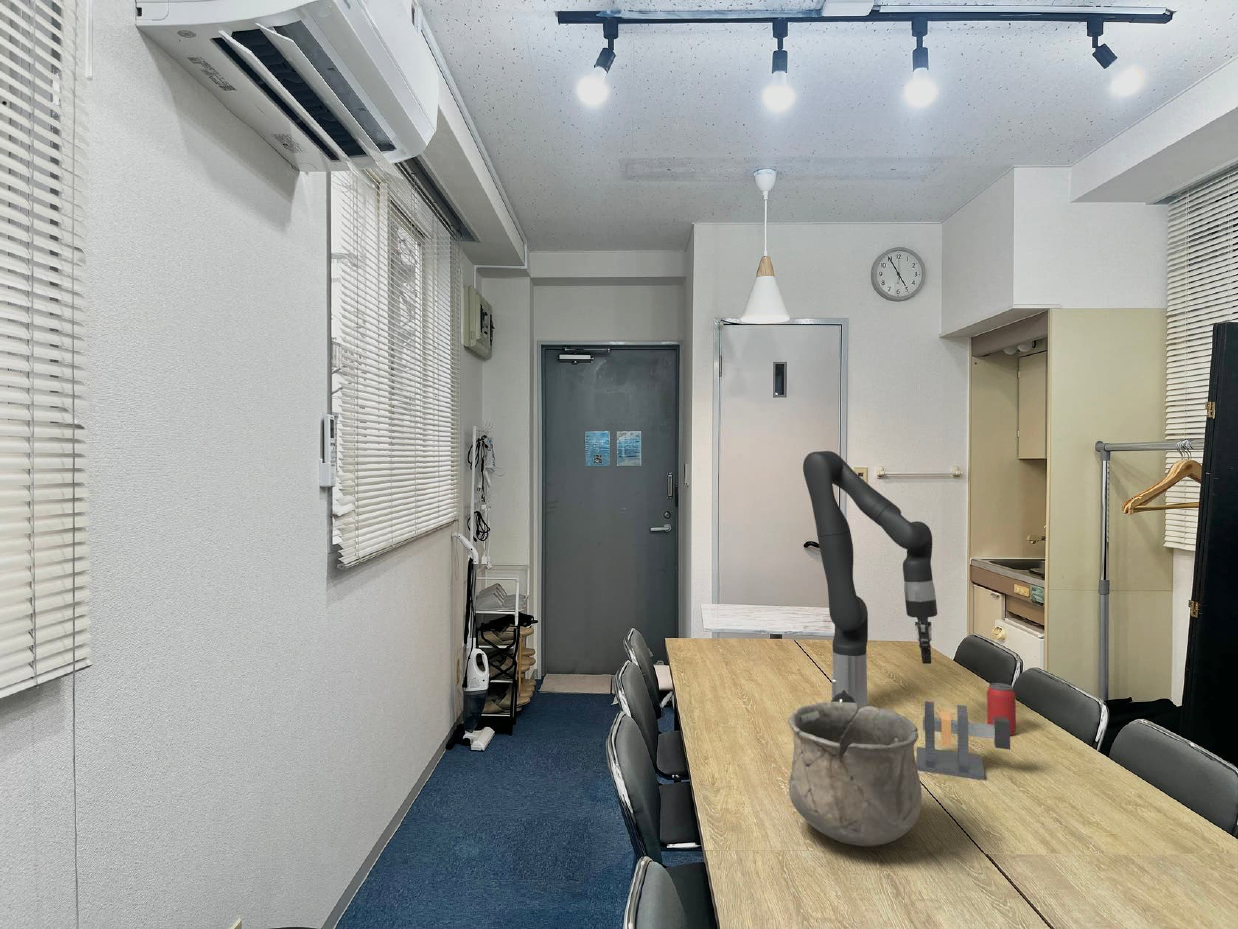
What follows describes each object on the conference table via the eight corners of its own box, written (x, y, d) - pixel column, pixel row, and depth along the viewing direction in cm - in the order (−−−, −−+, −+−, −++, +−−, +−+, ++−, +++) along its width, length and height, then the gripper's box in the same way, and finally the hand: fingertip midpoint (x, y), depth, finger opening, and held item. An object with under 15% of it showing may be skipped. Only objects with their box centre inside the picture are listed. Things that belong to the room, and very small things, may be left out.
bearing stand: (915, 770, 161) (915, 713, 161) (917, 750, 172) (916, 697, 172) (984, 780, 155) (983, 721, 155) (981, 759, 166) (980, 705, 166)
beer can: (1020, 737, 179) (1019, 690, 180) (992, 735, 181) (991, 689, 181) (1011, 728, 186) (1010, 682, 186) (984, 726, 187) (983, 681, 187)
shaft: (922, 738, 164) (922, 712, 164) (923, 733, 167) (922, 708, 167) (1010, 749, 157) (1009, 723, 157) (1008, 744, 160) (1008, 718, 160)
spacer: (941, 745, 161) (941, 719, 161) (941, 736, 167) (941, 711, 167) (951, 746, 160) (950, 720, 160) (950, 737, 166) (950, 712, 166)
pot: (846, 882, 117) (844, 754, 117) (763, 819, 139) (761, 711, 139) (953, 849, 127) (951, 731, 127) (861, 795, 149) (859, 694, 149)
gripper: (905, 593, 192) (911, 652, 192) (904, 602, 179) (911, 666, 179) (935, 592, 189) (941, 653, 189) (936, 601, 176) (943, 666, 176)
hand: (926, 659), depth 184 cm, fingers open, 8 cm apart
